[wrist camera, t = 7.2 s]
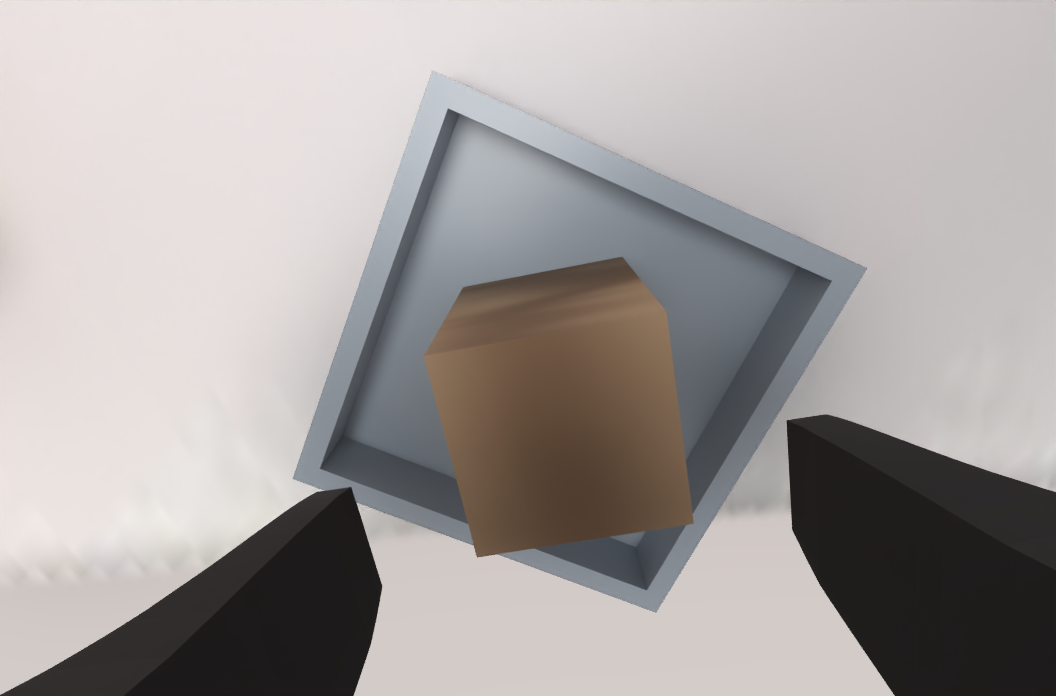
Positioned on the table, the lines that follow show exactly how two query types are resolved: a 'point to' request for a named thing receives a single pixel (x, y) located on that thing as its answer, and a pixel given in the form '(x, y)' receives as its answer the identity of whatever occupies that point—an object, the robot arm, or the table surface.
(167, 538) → the table surface
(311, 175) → the table surface
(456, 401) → the walnut block
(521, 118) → the tray
